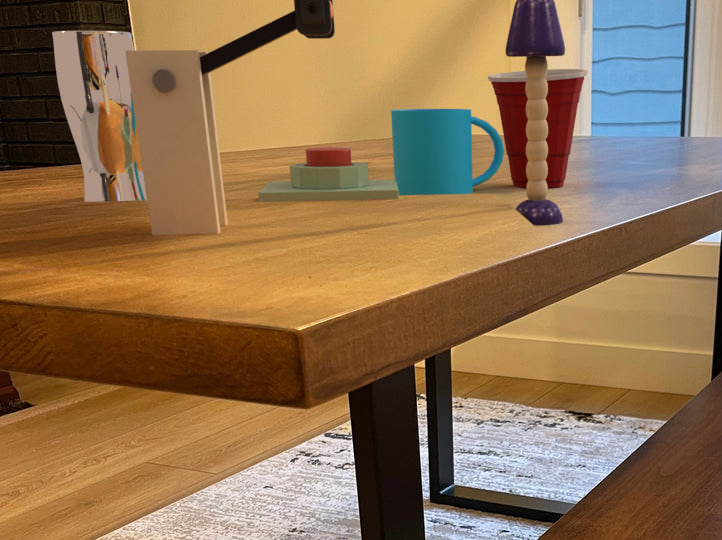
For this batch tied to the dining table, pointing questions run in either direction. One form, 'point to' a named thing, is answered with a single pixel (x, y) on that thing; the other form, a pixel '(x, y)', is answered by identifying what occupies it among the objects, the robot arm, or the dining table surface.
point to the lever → (249, 42)
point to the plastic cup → (559, 119)
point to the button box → (329, 185)
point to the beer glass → (101, 112)
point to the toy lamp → (536, 97)
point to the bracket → (177, 141)
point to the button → (328, 157)
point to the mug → (438, 151)
